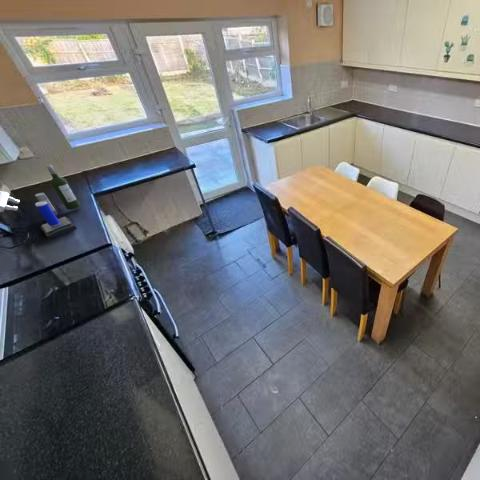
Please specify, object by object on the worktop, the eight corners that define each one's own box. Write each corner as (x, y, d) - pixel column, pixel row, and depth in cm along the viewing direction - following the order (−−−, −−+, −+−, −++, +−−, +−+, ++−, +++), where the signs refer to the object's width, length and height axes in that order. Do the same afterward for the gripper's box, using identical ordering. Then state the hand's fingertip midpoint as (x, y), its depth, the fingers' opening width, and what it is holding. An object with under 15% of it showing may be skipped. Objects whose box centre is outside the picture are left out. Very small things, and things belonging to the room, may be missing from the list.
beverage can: (59, 221, 170) (45, 200, 162) (60, 224, 167) (46, 202, 159) (49, 224, 167) (34, 202, 159) (50, 227, 164) (34, 205, 156)
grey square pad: (47, 233, 162) (46, 232, 161) (42, 226, 168) (41, 225, 167) (71, 224, 169) (70, 223, 168) (65, 217, 175) (64, 216, 174)
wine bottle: (73, 204, 193) (49, 163, 176) (83, 204, 192) (59, 163, 175) (63, 209, 187) (37, 167, 170) (73, 209, 186) (48, 167, 169)
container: (47, 215, 182) (33, 195, 173) (54, 212, 185) (41, 192, 176) (51, 216, 180) (37, 196, 172) (59, 213, 184) (46, 193, 175)
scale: (49, 239, 161) (46, 235, 159) (42, 229, 169) (39, 225, 168) (76, 228, 170) (74, 224, 168) (69, 219, 178) (66, 216, 176)
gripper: (-18, 193, 150) (18, 203, 160) (-26, 208, 137) (14, 218, 147) (-13, 183, 149) (22, 194, 159) (-21, 198, 136) (19, 208, 147)
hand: (18, 205), depth 153 cm, fingers open, 8 cm apart
